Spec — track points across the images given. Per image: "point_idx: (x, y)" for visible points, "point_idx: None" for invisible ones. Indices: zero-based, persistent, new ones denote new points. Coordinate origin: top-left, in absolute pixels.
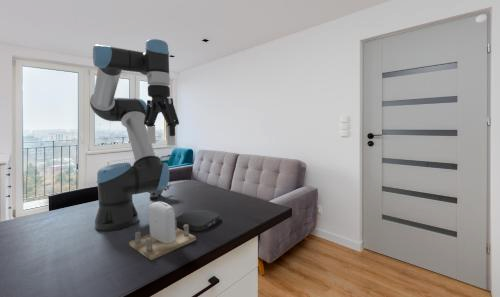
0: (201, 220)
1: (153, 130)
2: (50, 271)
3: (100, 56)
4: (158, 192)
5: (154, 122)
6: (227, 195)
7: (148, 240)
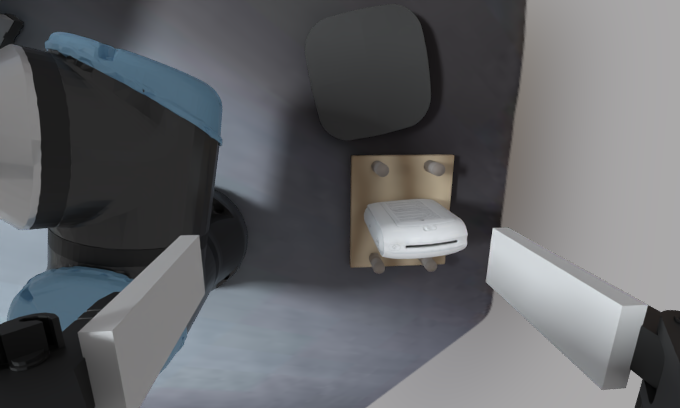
0: (407, 90)
1: (147, 319)
2: (337, 377)
3: None
4: None
5: (80, 393)
6: None
7: (435, 269)
